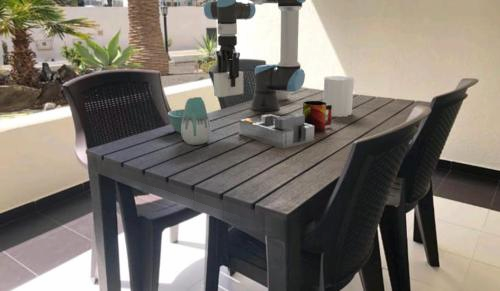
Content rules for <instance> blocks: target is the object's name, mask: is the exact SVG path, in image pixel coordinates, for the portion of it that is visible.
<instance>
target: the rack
mask: <svg viewBox="0 0 500 291" xmlns="http://www.w3.org/2000/svg"><path fill="white" fill-rule="evenodd" d="M238 134H239V135H242V136H245V137H248V138H250V139H254V140H256V141H260V142H262V143H265V144H267V145H268V144H269V145H270V146H271V145H272V146H274V147H277V148H281V149H282V150H283V149H284V150H285V149H288V148H292V147H296V146H299V145H303V144H307V143H311V142H314V141H315V140H316V138H315V133H314V125H310V124H307V123H305V115H303V113H292V114H288V115H284V116H279V115H275V114H271V113H269V114H264V115H263V114H262V115H261V116H260V121H258V122H254V120H253V118H250V117H249V118H248V117H247V118H243V119H239V131H238Z"/></svg>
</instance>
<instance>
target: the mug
mask: <svg viewBox="0 0 500 291" xmlns="http://www.w3.org/2000/svg"><path fill="white" fill-rule="evenodd" d="M326 110H328V116H327V115H326ZM331 111H332V105H327V106H326V103H325V102H323V100H322V101H320V100H306V101H303V102H302V115H305V123H307V124H310V125H314V134H322V133H325V131H326V130H325V129H326V127H327V126H331V125H332V116H331ZM326 116H327V121H326Z"/></svg>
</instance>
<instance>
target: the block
mask: <svg viewBox="0 0 500 291" xmlns="http://www.w3.org/2000/svg"><path fill="white" fill-rule="evenodd" d="M228 78H230V76H229V71H227V72H224V73H218V72H216V73H213V94H214V95H213V96H214V97H217V98H224V97H230V96H232V95H229V84H228ZM244 92H245V91H244V71H240V70H239V77H237V78H236V79H235V94H234V95H233V96H237V95H243V94H244Z"/></svg>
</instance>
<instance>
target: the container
mask: <svg viewBox="0 0 500 291" xmlns="http://www.w3.org/2000/svg"><path fill="white" fill-rule="evenodd" d="M354 85H355V78H354V77H351V76H345V75H344V76H341V75H333V76H325V77H324V80H323V98H322V99H323V100H322V102H325V103H326V106H327V105H332V111H331V117H339V118H340V117H341V118H342V117H343V116H344V117H349V116H348V115H350V116H352V114H353V113H352V112H353V98H354ZM326 116H327V117H328V110H326Z"/></svg>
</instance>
